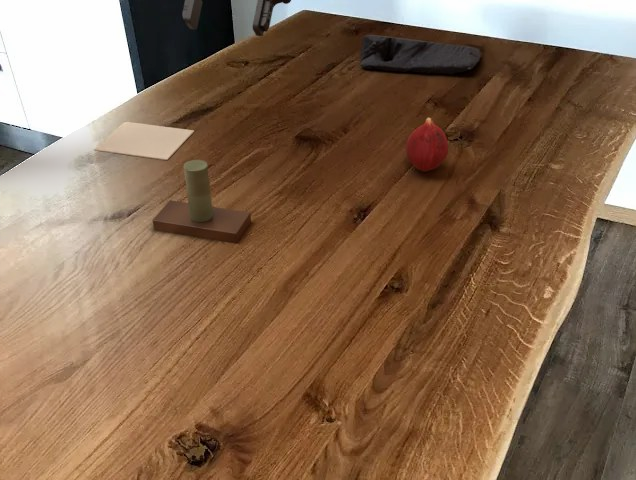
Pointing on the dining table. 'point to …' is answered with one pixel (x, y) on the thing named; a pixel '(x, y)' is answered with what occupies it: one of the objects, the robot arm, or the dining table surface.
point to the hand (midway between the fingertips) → (223, 29)
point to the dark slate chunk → (416, 55)
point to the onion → (427, 146)
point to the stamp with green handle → (201, 211)
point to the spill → (145, 140)
